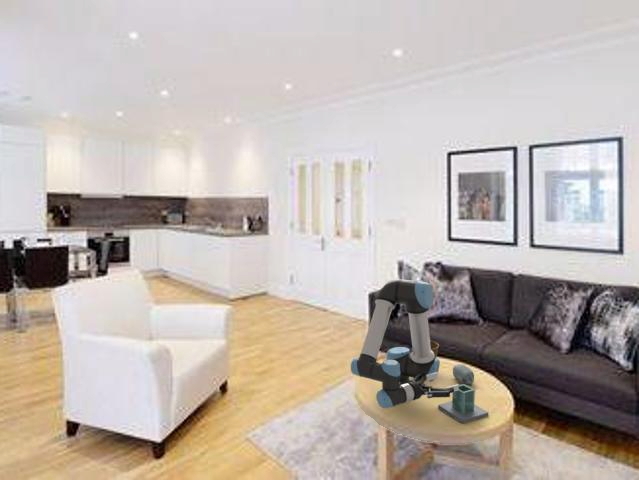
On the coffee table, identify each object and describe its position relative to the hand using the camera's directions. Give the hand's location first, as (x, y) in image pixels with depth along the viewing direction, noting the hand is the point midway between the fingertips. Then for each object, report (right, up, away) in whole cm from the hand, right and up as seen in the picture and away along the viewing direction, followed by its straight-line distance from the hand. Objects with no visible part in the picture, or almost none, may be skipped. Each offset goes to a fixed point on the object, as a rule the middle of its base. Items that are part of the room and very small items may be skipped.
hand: (447, 380), depth 201 cm
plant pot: (+2, -11, +53) cm, 55 cm away
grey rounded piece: (+20, -13, +40) cm, 47 cm away
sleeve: (+9, -15, +7) cm, 19 cm away
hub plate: (+9, -17, +7) cm, 21 cm away
